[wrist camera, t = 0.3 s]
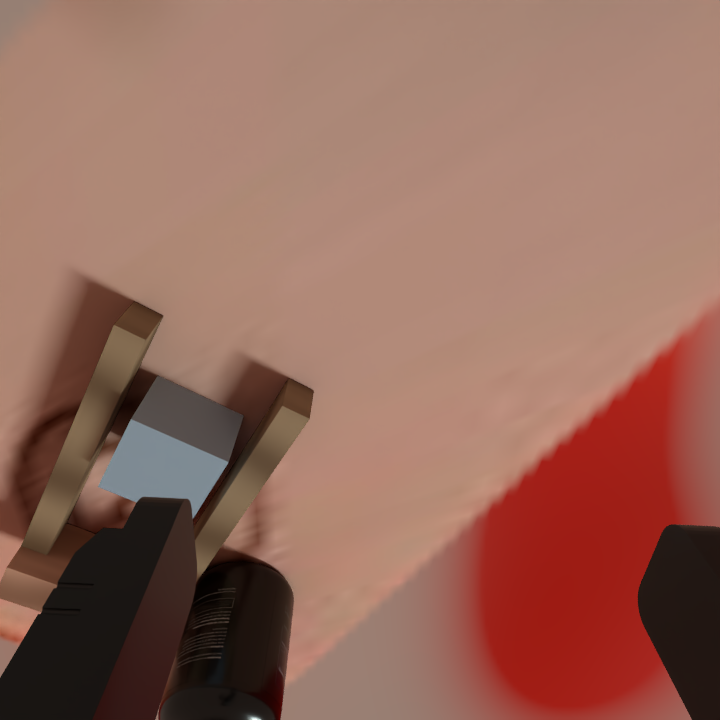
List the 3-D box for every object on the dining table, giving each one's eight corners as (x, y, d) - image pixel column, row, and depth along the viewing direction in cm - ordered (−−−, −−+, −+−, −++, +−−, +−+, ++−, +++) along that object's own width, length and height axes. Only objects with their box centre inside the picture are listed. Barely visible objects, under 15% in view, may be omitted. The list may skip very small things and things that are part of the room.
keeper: (158, 373, 29) (131, 419, 26) (244, 413, 31) (228, 462, 27) (127, 437, 32) (98, 486, 28) (208, 472, 33) (190, 523, 29)
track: (134, 301, 27) (99, 340, 24) (313, 390, 30) (306, 437, 26) (30, 542, 36) (-6, 596, 32) (175, 595, 38) (156, 650, 35)
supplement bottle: (195, 615, 40) (133, 821, 29) (197, 551, 36) (129, 758, 26) (290, 626, 40) (263, 833, 30) (302, 564, 37) (276, 773, 26)
